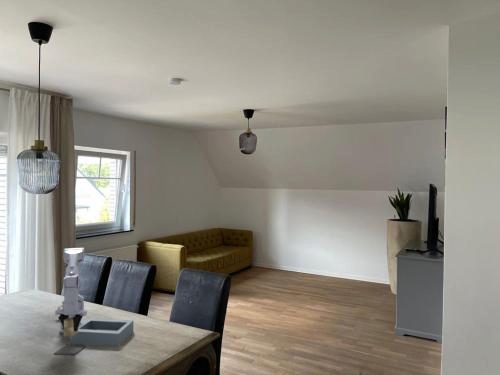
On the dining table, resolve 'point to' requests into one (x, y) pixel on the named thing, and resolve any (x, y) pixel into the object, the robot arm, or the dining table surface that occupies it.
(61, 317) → the robot arm
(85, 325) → the box
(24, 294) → the dining table surface
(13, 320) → the dining table surface
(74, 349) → the mat
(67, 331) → the birch post
